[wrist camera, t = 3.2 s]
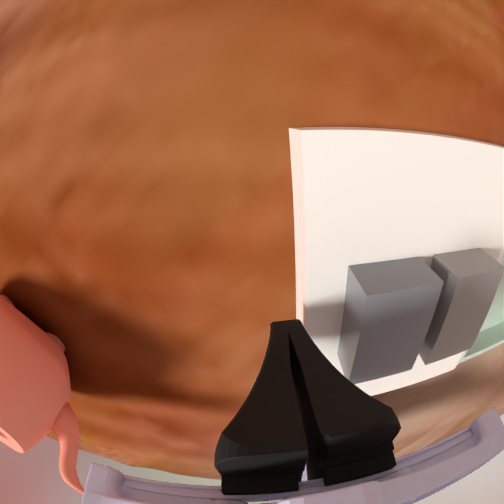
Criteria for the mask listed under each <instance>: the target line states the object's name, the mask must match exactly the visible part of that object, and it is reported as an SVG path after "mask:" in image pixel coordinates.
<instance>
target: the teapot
mask: <svg viewBox="0 0 504 504" xmlns="http://www.w3.org/2000/svg"><path fill="white" fill-rule="evenodd" d="M64 351H65V347H64V344H63V343H62V341H61V340H60V339H59V338H58V337H56V336H55V335H53V334H51V333H45V332H44V331H43V330H42V329H40V328H39V327H38V326H37V325H36V324H35V323H33V322H32V321H31V320H30V319H29V318H27V317H26V316H25V315H24V314H22V313H21V312H20V311H19V310H18V309H16V308H15V307H14V305H13V303H12V302H11V301H10V299H9V298H8V297H6V296H5V295H2V294H1V295H0V440H1V441H2V442H3V443H5V444H6V445H8V446H9V447H11V448H12V449H14V450H15V451H17V452H19V453H25V452H26V451H28V450H29V449H31V448H32V447H33V446H34V445H35V444H37V443H38V442H39V441H40V440H41V439H43V438H44V437H45V436H46V435H47V434H48V433H49V432H50V431H51V430H52V429H53V430H54V431H55V433H56V435H57V436H58V439H59V441H60V449H61V450H60V460H59V469H60V473H61V476H62V478H63V479H64V481H65V482H66V483H67V484H68V485H70V486H71V487H73V488H74V489H76V490H77V491H79V492H80V493H82V494H84V490H85V489H84V488H83V487H82V485H81V484H80V482H79V479H78V477H77V471H76V460H77V455H78V449H79V443H80V428H79V422H78V420H77V417H76V415H75V413H74V411H73V410H72V408H71V406H70V405H69V400H70V394H71V387H70V376H69V369H68V363H67V360H66V357H65V355H64V353H63V352H64Z"/></svg>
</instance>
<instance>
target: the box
mask: <svg viewBox="0 0 504 504" xmlns="http://www.w3.org/2000/svg"><path fill="white" fill-rule="evenodd" d="M495 145H496V144H495ZM498 146H501V145H498ZM502 147H504V146H502ZM500 264H501V265H502V266H504V252H503V255H502V259H501V262H500ZM502 343H504V271H503V274H502V277H501V280H500V283H499V286H498V289H497V291H496V294H495V297H494V299H493V302H492V304H491V307H490V309H489V311H488V314H487V316H486V318H485V321H484V323H483V325H482V327H481V329H480V331H479V333H478V336H477V338H476V340H475V342H474V344H473V345H472V347H471V349H468V350H466V351H464V353H463V354H462V356H461V358H460V360H459V362H458V363H461V362H463V361H466V360H468V359H470V358H472V357H475V356H477V355H479V354H481V353H483V352H486V351H488V350H490V349H492V348H494V347H496V346H498V345H500V344H502Z"/></svg>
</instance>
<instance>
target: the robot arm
mask: <svg viewBox="0 0 504 504" xmlns="http://www.w3.org/2000/svg"><path fill="white" fill-rule="evenodd" d="M270 326H271V330H270V339H269V344H268V348H267V352H266V355H265V359H264V361H263V364H262V367H261V370H260V372H259V375H258V377H257V379H256V382H255V384H254V386H253V388H252V390H251V391H250V393H249V395H248V397H247V399H246V400H245V402H244V404H243V405H242V407H241V408H240V410H239V411H238V413H237V414H236V415H235V417H234V418H233V419H232V421H231V422H230V423H229V424H228V426H227V427H226V428H225V429H224V430H223V432H222V434H221V436H220V438H219V441H218V444H217V447H216V451H215V463H214V465H215V468H216V469H217V471H218V472H219V473H220V474H221V476H222V483H221V486H201V485H200V486H199V485H187V484H177V483H168V482H161V481H154V480H148V479H142V478H137V477H131V476H127V475H123V474H122V473H121V472H120V471H118V470H116V469H114V468H110V467H107V466H103V465H99V464H96V463H91V466H90V470H89V474H88V478H87V482H86V486H85V490H84V494H83V499H82V503H81V504H248V503H247V502H256V501H257V502H258V501H269V503H262V504H413V503H415V502H417V501H419V500H422V499H424V498H426V497H428V496H430V495H432V494H434V493H436V492H438V491H440V490H442V489H444V488H446V487H447V486H449V485H451V484H453V483H455V482H456V481H458V480H460V479H462V478H463V477H465V476H467V475H468V474H470V473H472V472H473V471H475V470H476V469H478V468H480V467H481V466H483V465H484V464H485V463H487V462H488V461H490V460H491V459H492V458H493V457H495V456H496V455H497V454H499V453H500V452H501V451H502V450H503V449H504V425H503V423H502V421H501V419H500V417H499V415H498V413H497V412H496V410H495V408H491V409H490V410H488V411H487V412H485V413H483V414H482V415H480V416H478V417H477V418H476V419H475V420H474V421H473V422H472V423H471V424H470V426H468V427H466V428H465V429H463V430H461V431H459V432H457V433H455V434H453V435H451V436H449V437H447V438H445V439H443V440H441V441H439V442H436V443H434V444H432V445H430V446H427V447H425V448H423V449H420V450H418V451H415V452H413V453H410V454H407V455H405V456H402V457H399V458H396V459H395V457H394V454H393V451H392V450H394V445H393V442H392V441H393V440H394V438H395V437H396V436H397V434H398V433H399V431H400V429H401V426H400V423H399V421H398V418H397V417H396V415H395V413H394V411H393V410H392V408H391V407H389V406H387V405H385V404H383V403H381V402H380V401H378V400H376V399H374V398H373V397H371V396H370V395H368V394H367V393H365V392H364V391H363V390H361V389H360V388H358V387H357V386H356V385H355V384H353V383H352V382H351V381H349V380H348V379H347V378H346V377H345V376H344V375H343V374H342V373H340V372H339V371H338V370H337V369H336V368H335V367H334V366H333V365H332V364H331V362H330V361H329V360H328V359H327V358H326V357H325V356H324V354H323V353H322V352H321V351H320V349H319V348H318V347H317V346H316V344H315V343H314V342H313V340H312V339H311V337H310V336H309V334H308V333H307V331H306V330H305V328H304V326H303V324H302V322H301V321H300V320H299V319H295V320H287V321H278V322H272V323H271V324H270Z"/></svg>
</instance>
